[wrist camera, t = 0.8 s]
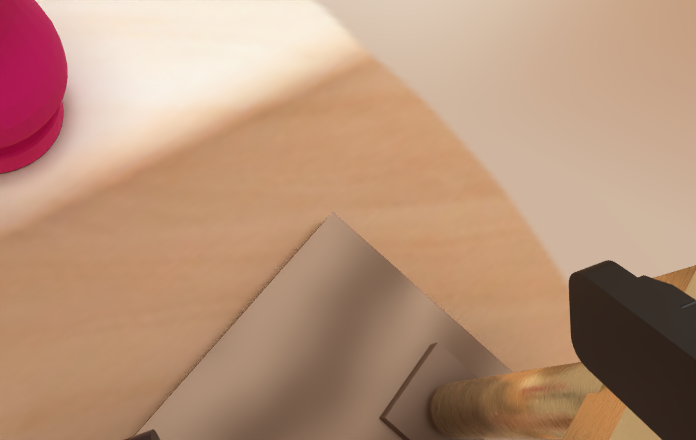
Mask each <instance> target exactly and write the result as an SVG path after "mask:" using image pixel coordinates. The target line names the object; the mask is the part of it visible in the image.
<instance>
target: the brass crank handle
mask: <svg viewBox="0 0 696 440" xmlns="http://www.w3.org/2000/svg"><path fill="white" fill-rule="evenodd" d="M653 279H657V280H660V281H663V282H666V283H669V284H672V285H674V286H675V287H677V288H678V289H680V290H682V291H683V292H685V293H686V294H688V295H689V296H691V297H692V298H694V299H695V300H696V265H695V266H692V267H689V268H685V269H682V270H678V271H675V272H672V273H668V274H665V275H662V276H658V277H655V278H653ZM430 411H431V417H432V420H433V422H434V424H435V426H436V427H437V428H438V430H439V431H440V432H442V433H443V434H445V435H446V436H449V437H453V438H509V439H562V440H662V439H661V438H660V437H658V436H657V435H656V434H655V433H654V432H653V431H652V430H651V429H650V428H649V427H648V426H647V425H646V424H645V423H644V422H643V421H642V420H641V419H640V418H638V417H637V416H636V415H635V414H634V413H633V412H632V411H631V410H630V409H629V408H628V407H627V406H626V405H625V404H624V403H623V402H622V401H621V400H619V399H618V398H617V397H616V396H615V395H614V394H613V393H612V392H611V391H610V390H609V389H608V388H607V387H606V386H605V385H604V384H603V383H602V382H601V381H599V380H598V379H597V378H596V377H595V376H594V375H593V374H592V373H591V372H590V371H589V370H588V369H587V368H586V367H585V366H584V365H583V363H582V362H578V363H572V364H565V365H559V366H552V367H546V368H540V369H533V370H527V371H521V372H514V373H508V374H501V375H495V376H489V377H482V378H476V379H470V380H463V381H457V382H450V383H446V384H444V385H442V386H441V387H439V388H438V389H437V390H436V392H435V393H434V395H433V397H432V400H431V405H430Z"/></svg>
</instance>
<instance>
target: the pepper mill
mask: <svg viewBox="0 0 696 440" xmlns="http://www.w3.org/2000/svg"><path fill="white" fill-rule="evenodd" d="M66 84H67V62H66V57H65V53H64V49H63V46H62V43H61V40H60V38H59V36H58V33H57V31H56V29H55V27H54V25H53V23H52V21H51V20H50V19H49V18H48V16H47V15H46V14H45V12H44V11H43V10H42V9H41V7H40V6H39V5H38V3H37V2H36V1H35V0H0V173H4V172H9V171H13V170H16V169H19V168H21V167H24V166H26V165H28V164H30V163H32V162H33V161H35V160H37V159H38V158H39V157H41V156H42V155H43V154H44V153H45V152H46V151H47V150H48V149H49V148H50V147H51V146H52V144H53V143H54V142H55V140H56V138H57V136H58V134H59V132H60V129H61V127H62V121H63V104H62V99H63V96H64V93H65V89H66Z"/></svg>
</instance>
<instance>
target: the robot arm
mask: <svg viewBox="0 0 696 440" xmlns="http://www.w3.org/2000/svg"><path fill="white" fill-rule="evenodd" d="M569 301H570V325H571V339H572V344H573V347H574V349H575V352H576V354H577V356H578V357H579V359H580V361H581V362H582V363H583V365H584V366H585V367H586V368H587V369H588V370H589V371H590V372H591V373H592V374H593V375H594V376H595V377H596V378H597V379H598V380H599V381H601V382H602V383H603V384H604V385H605V386H606V387H607V388H608V389H609V390H610V391H611V392H612V393H613V394H614V395H615V396H616V397H617V398H618V399H619V400H621V401H622V402H623V403H624V404H625V405H626V406H627V407H628V408H629V409H630V410H631V411H632V412H633V413H634V414H635V415H636V416H637V417H638V418H640V419H641V420H642V421H643V422H644V423H645V424H646V425H647V426H648V427H649V428H650V429H651V430H652V431H653V432H654V433H655V434H656V435H657V436H658V437H660V438H661V439H662V440H696V300H695V299H694V298H692V297H691V296H689V295H688V294H686V293H685V292H683V291H682V290H680V289H678V288H677V287H675V286H674V285H672V284H669V283H666V282H663V281H660V280H657V279H653V278H650V277H647V276H644V275H643V276H641V277H638V278H637V277H636V276H635V275H633V274H632V273H630V272H629V271H627V270H625V269H624V268H623V267H621V266H620V265H618V264H617V263H615V262H613V261H609V260H608V261H604V262H601V263H599V264H596V265H593V266H591V267H588V268H585V269H583V270H580V271H577V272H575V273H573V274H572V275H571V276H570V278H569ZM125 440H160V438H159V436H158V434H157V433H156V431H155V430H154V429H152V430H149V431H146V432H144V433H141V434H138V435H136V436H133V437H130V438H128V439H125Z"/></svg>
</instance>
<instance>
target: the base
mask: <svg viewBox="0 0 696 440" xmlns="http://www.w3.org/2000/svg"><path fill="white" fill-rule="evenodd" d="M508 373H513V372H512V371H511V370H510V369H509V368H508V367H506V366H505V365H504V364H503V363H502V362H501V361H500V360H499V359H497V358H496V357H495V356H494V355H493V354H492V353H491V352H490V351H489V350H487V349H486V348H485V347H484V346H483V345H482V344H481V343H480V342H478V341H477V340H476V339H475V338H474V337H473V336H472V335H471V334H469V333H468V332H467V331H466V330H465V329H464V328H463V327H462V326H461V325H459V324H458V323H457V322H456V321H455V320H454V319H453V318H452V317H450V316H449V315H448V314H447V313H446V312H445V311H444V310H443V309H441V308H440V307H439V306H438V305H437V304H436V303H435V302H434V301H433V300H431V299H430V298H429V297H428V296H427V295H426V294H425V293H424V292H422V291H421V290H420V289H419V288H418V287H417V286H416V285H415V284H413V283H412V282H411V281H410V280H409V279H408V278H407V277H406V276H405V275H403V274H402V273H401V272H400V271H399V270H398V269H397V268H396V267H394V266H393V265H392V264H391V263H390V262H389V261H388V260H387V259H385V258H384V257H383V256H382V255H381V254H380V253H379V252H378V251H377V250H375V249H374V248H373V247H372V246H371V245H370V244H369V243H368V242H366V241H365V240H364V239H363V238H362V237H361V236H360V235H359V234H358V233H356V232H355V231H354V230H353V229H352V228H351V227H350V226H349V225H347V224H346V223H345V222H344V221H343V220H342V219H341V218H340V217H338V216H337V215H336V214H335V213H334V212H333V213H332V214H331V215H330V216H329V217H328V218H327V219H326V220H325V221H324V222H323V223H322V224H321V226H320V227H319V228H318V229H317V230H316V231H315V232H314V233H313V235H312V236H311V237H310V238H309V239H308V240H307V241H306V242H305V244H304V245H303V246H302V247H301V248H300V249H299V250H298V251H297V253H296V254H295V255H294V256H293V257H292V258H291V259H290V260H289V262H288V263H287V264H286V265H285V266H284V267H283V268H282V270H281V271H280V272H279V273H278V274H277V275H276V276H275V277H274V279H273V280H272V281H271V282H270V283H269V284H268V285H267V286H266V288H265V289H264V290H263V291H262V292H261V293H260V294H259V295H258V297H257V298H256V299H255V300H254V301H253V302H252V303H251V305H250V306H249V307H248V308H247V309H246V310H245V311H244V312H243V314H242V315H241V316H240V317H239V318H238V319H237V320H236V321H235V323H234V324H233V325H232V326H231V327H230V328H229V329H228V330H227V332H226V333H225V334H224V335H223V336H222V337H221V338H220V339H219V341H218V342H217V343H216V344H215V345H214V346H213V347H212V349H211V350H210V351H209V352H208V353H207V354H206V355H205V356H204V358H203V359H202V360H201V361H200V362H199V363H198V364H197V365H196V367H195V368H194V369H193V370H192V371H191V372H190V373H189V374H188V376H187V377H186V378H185V379H184V380H183V381H182V382H181V383H180V385H179V386H178V387H177V388H176V389H175V390H174V391H173V393H172V394H171V395H170V396H169V397H168V398H167V399H166V400H165V402H164V403H163V404H162V405H161V406H160V407H159V408H158V409H157V411H156V412H155V413H154V414H153V415H152V416H151V417H150V418H149V420H148V421H147V422H146V423H145V424H144V425H143V426H142V427H141V429H140V430H139V431H138V432H137V433H136V434H135V435H134V436H136V435H138V434H141V433H144V432H146V431H149V430H152V429H154V430H155V431H156V433H157V434H158V436H159V438H160V440H562V439H509V438H453V437H449V436H446V435H445V434H443V433H442V432H440V431H439V430H438V428H437V427H436V426H435V424H434V422H433V420H432V417H431V411H430V405H431V400H432V397H433V395H434V393H435V392H436V390H437V389H438V388H439V387H441V386H442V385H444V384H446V383H450V382H457V381H463V380H470V379H476V378H482V377H489V376H495V375H501V374H508Z"/></svg>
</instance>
